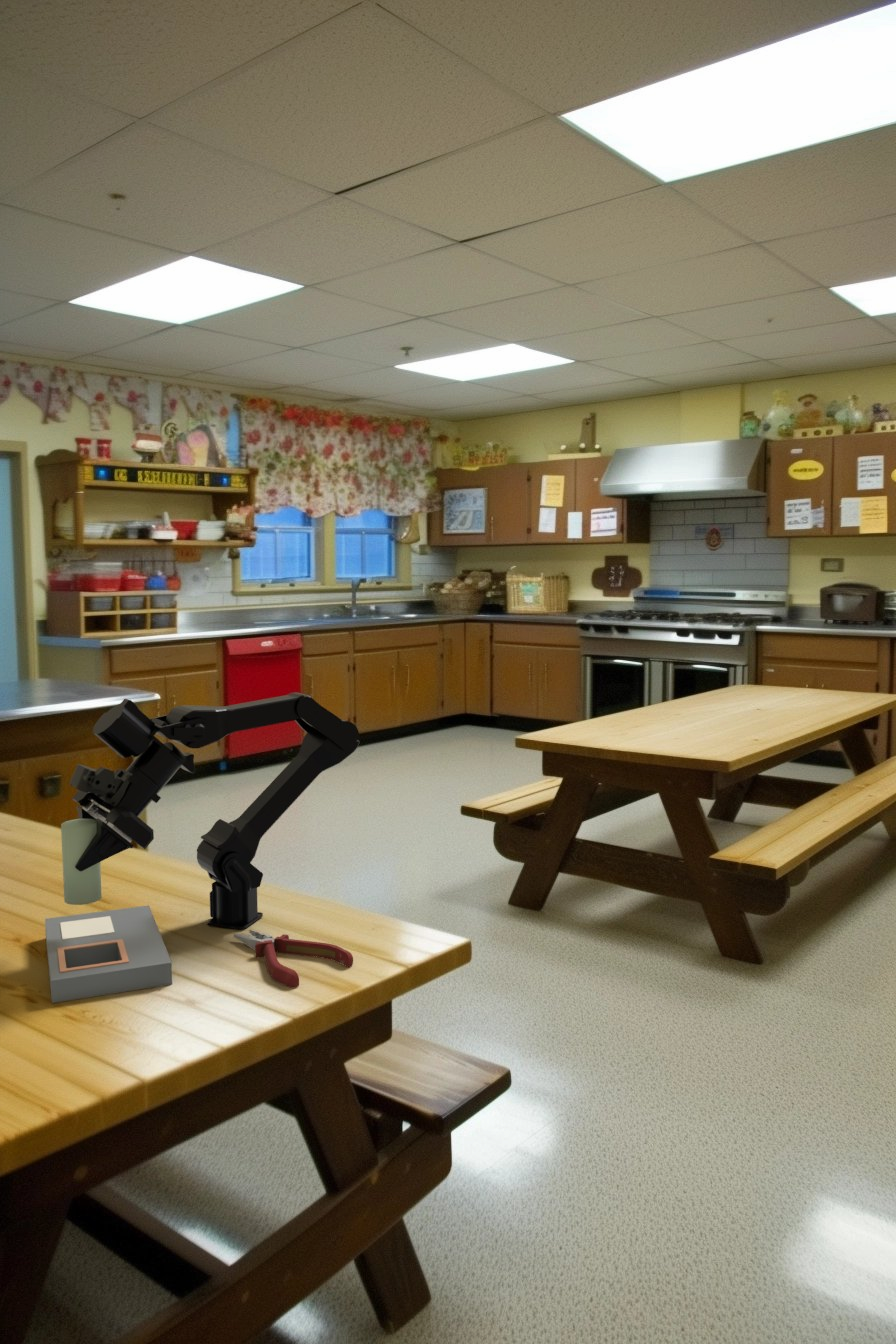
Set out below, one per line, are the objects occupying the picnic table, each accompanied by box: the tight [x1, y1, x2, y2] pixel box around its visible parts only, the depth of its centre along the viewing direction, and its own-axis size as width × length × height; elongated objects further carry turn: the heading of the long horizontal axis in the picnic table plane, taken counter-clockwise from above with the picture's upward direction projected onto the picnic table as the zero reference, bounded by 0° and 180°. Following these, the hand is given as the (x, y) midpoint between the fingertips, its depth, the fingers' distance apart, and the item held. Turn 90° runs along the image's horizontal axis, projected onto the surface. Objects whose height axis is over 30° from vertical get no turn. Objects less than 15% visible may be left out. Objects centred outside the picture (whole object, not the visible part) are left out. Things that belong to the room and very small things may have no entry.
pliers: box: [233, 929, 354, 988], centre depth 145 cm, size 12×20×3 cm, turn 45°
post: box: [60, 818, 103, 906], centre depth 144 cm, size 5×5×11 cm
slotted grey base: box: [44, 904, 173, 1004], centre depth 144 cm, size 24×15×3 cm, turn 23°
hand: (71, 864), depth 143 cm, fingers closed on post, 5 cm apart
